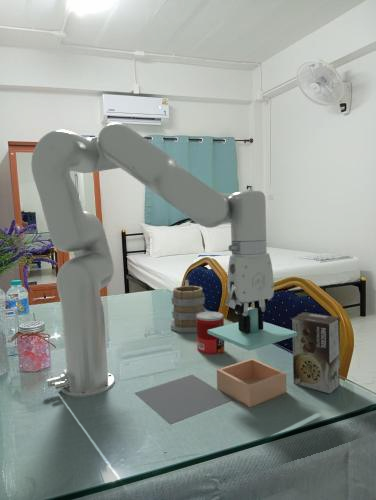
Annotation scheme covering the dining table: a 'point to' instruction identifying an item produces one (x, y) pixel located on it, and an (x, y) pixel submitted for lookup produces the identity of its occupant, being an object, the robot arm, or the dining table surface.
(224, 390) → the pink storage bin
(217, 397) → the mat
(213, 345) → the canned food
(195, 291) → the tankard
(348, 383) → the dining table surface
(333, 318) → the coffee box
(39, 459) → the dining table surface
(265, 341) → the lid
